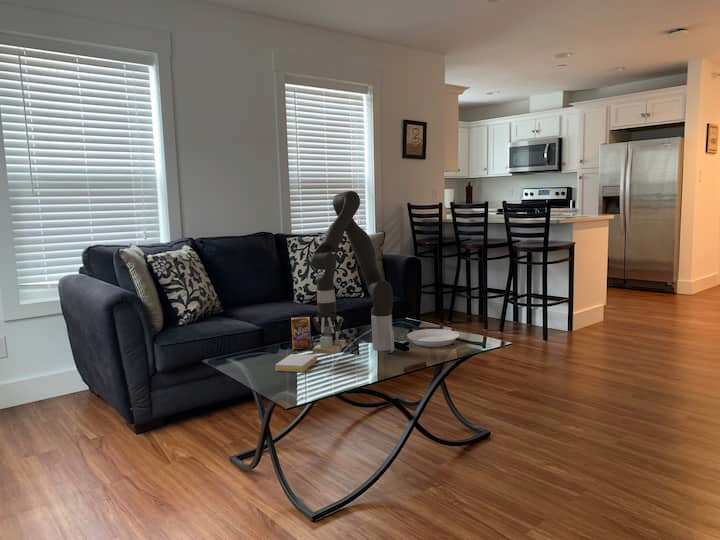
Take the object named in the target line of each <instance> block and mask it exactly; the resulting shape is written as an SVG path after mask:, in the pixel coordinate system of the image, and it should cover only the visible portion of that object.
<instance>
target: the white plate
mask: <svg viewBox="0 0 720 540" xmlns="http://www.w3.org/2000/svg"><path fill="white" fill-rule="evenodd" d="M406 336H407V338H408V339H410V340H411V341H412V342H413V343H414V344H415V345H417V346H420V347H429V348H431V347H432V348H436V347H446V346H448V345H449V346H450V345H451V344H453V342H454V341H455V340H456V339H457V338H459V336H460V333H459V332H457V331H454V330H451V329H450V330H449V329H445V328H444V329H442V328H429V329H427V328H425V329H420V330H419V329H418V330H414V331H411V332H409V333H407V335H406Z"/></svg>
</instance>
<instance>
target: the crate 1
mask: <svg viewBox="0 0 720 540" xmlns="http://www.w3.org/2000/svg"><path fill="white" fill-rule="evenodd" d="M319 343H320V348H330V347H331V346H333V340H332V336H322V335H321V336H320V337H319Z"/></svg>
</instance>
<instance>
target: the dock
mask: <svg viewBox="0 0 720 540" xmlns="http://www.w3.org/2000/svg"><path fill="white" fill-rule="evenodd" d="M317 355H318V354H301V353H300V354H298V353H291V354H289V355H288V356H286V357H284V358H283V359H282V360H280V361H279V362H277V363H275V365H274V366H275V367H274V368H275V369H274V370H275V372H293V373H294V372H296V373H303V372H305V371H306V370H307V369H309V368H310V367H311V366H312V365H314V364H315V363H316V362H317V361H318V356H317Z"/></svg>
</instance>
